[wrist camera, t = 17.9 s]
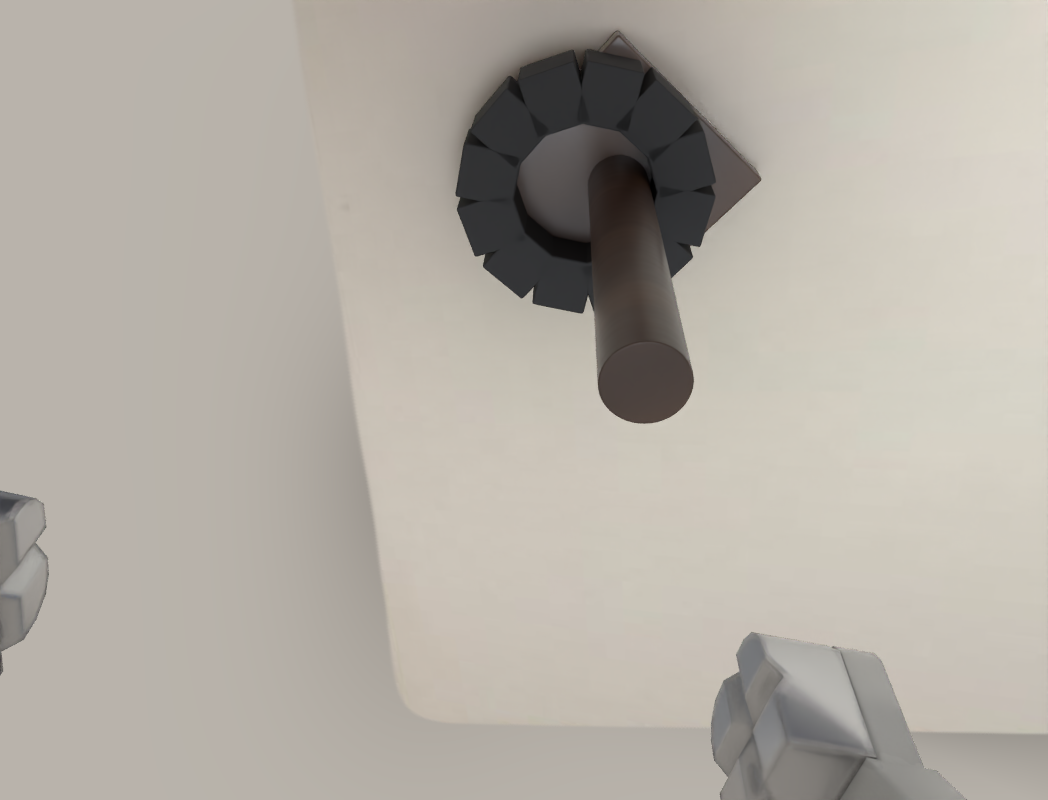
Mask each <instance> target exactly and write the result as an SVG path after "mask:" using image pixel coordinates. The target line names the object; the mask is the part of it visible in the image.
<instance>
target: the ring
mask: <svg viewBox="0 0 1048 800" xmlns="http://www.w3.org/2000/svg"><path fill="white" fill-rule="evenodd" d="M581 124H586V125H590V126H595V127H600V128H604V129H609V130H614V131H618V132H620V133H622V134H623V135H624V136H625V137H626V138H627V139H628V140H629V141H630V142H631V143H632V144H633V145H634V146H635V147H637V148H638V149H639V150H640V151H641V152H642V153H643V154H644V155H645V156H646V157H647V159H648V162H649V166H650V170H651V173H652V180H651V183H650V188H651V193H652V197H653V201H654V206H655V210H656V214H657V219H658V223H659V227H660V232H661V236H662V240H663V245H664V249H665V254H666V258H667V262H668V267H669V271H670V275H671V278H672V277H673V276H674V275H675V274H676V273H677V272H678V271H679V270H680V269H682V268H683V267H684V266H685V265H686V264H687V263H688V262H689V261H690V260H691V259H692V258H693V255H692V252H691V248H690V245H693V246H698V247H700V245H701V242H702V239H703V236H704V233H705V230H706V227H707V223H708V220H709V217H710V214H711V211H712V207H713V204H714V201H715V198H716V195H715V193H714V191H713V188H712V186H711V185H712V184H715V183H716V178H715V174H714V170H713V166H712V162H711V158H710V154H709V149H708V145H707V141H706V137H705V133H704V130H703V128H702V126H701V124H700V121H699V119H698V117H697V116H696V115H695V113H694V111H693V109H692V106H691V104H690V103H689V102H688V101H687V100H686V99H685V98H684V97H683V96H682V95H681V94H680V93H679V92H678V91H677V90H676V89H675V88H674V87H673V86H672V85H670V84H669V83H668V82H667V81H666V80H665V79H664V78H663V77H662V76H661V75H660V74H659V73H658V72H657V71H656V70H655V69H654V68H653V67H651V68H650V69H649V70H648V71H647V72H646V74H645V75H644V71H643V67H642V64H641V61H639V60H635V59H631V58H626V57H622V56H617V55H612V54H608V53H603V52H599V51H594V50H590V49H587V50H586V51H585V56H584V60H583V65H582V69H581V72H580V69H579V66H578V62H577V59H576V55H575V52H574V50H570V51H567V52H564V53H562V54H559V55H556V56H553V57H550V58H547V59H544V60H541V61H538V62H535V63H532V64H530V65H527V66H524V67H521V68H520V73H519V77H518V82H517V81H516V80H515V79H514V78H513V77H511V76H509V77H508V78H507V79H506V80H505V81H504V82H503V84H502V85H501V86H500V87H499V88H498V90H497V91H496V92H495V93H494V94H493V95H492V97H491V98H490V99H489V100H488V101H487V103H486V104H485V105H484V106H483V107H482V108H481V110H480V111H479V112H478V113H477V114H476V116H475V119H474V122H473V124H472V127H471V129H469V131H468V134H467V137H466V140H465V142H464V146H463V152H462V158H461V164H460V170H459V176H458V182H457V188H456V196H457V197H460V201H459V204H458V207H457V211H458V214H459V216H460V219H461V221H462V224H463V227H464V229H465V232H466V234H467V237H468V239H469V242H470V245H471V247H472V250H473V252H474V255H475V256H480V255H483V254H485V258H484V263H483V267H484V268H485V269H486V270H487V271H489V272H490V273H491V274H492V275H493V276H495V277H496V278H497V279H498V280H499V281H501V282H502V283H503V284H504V285H506V286H507V287H508V288H509V289H510V290H512V291H513V292H514V293H515V294H517V295H518V296H519V297H520V298H523V297H524V296H525V295H526V294H527V293H528V292H529V291H530V290H531V289H532V288H533V287H534V291H533V304H536V305H541V306H546V307H551V308H556V309H561V310H566V311H571V312H576V313H583V312H584V308H585V304H586V301H587V297H588V296H589V299H590V302H591V305H592V308H593V311H594V297H593V277H592V257H591V242H590V243H581V242H576V241H571V240H567V239H562V238H557V237H553V236H552V235H551V234H549V233H548V232H547V231H546V230H545V229H544V228H542V227H541V226H540V225H539V224H538V223H537V222H535V221H534V220H533V219H532V218H531V217H530V216H529V215H528V214H527V212H526V209H525V206H524V203H523V200H522V197H521V194H520V192H519V189H518V186H517V180H518V175H519V170H520V165H521V163H522V162H523V161H524V160H525V158H526V157H527V156H528V155H529V154H530V153H531V152H532V151H533V150H534V148H535V147H536V146H537V145H538V144H539V143H540V142H541V141H542V140H543V138H544V137H545V136H547V135H550V134H553V133H557V132H560V131H563V130H566V129H569V128H572V127H575V126H578V125H581Z"/></svg>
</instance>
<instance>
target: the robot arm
mask: <svg viewBox="0 0 1048 800" xmlns="http://www.w3.org/2000/svg"><path fill="white" fill-rule="evenodd" d="M45 528H46V520H45V510H44V504H43V503H42V502H41V501H39V500H38V499H36V498H32V497H27V496H23V495H18V494H14V493H8V492H4V491H0V675H1V673H2V672H3V666H2V653H1V651H3V650H5V649H7V648H9V647H11V646H13V645H15V644H17V643H18V642H20V641H22V640H24V638H25V636H26V635H27V633H28V632H29V630H30V629H31V627H32V625H33V624H34V622H35V621H36V619H37V616H38V613H39V611H40V608H41V605H42V603H43V600H44V597H45V595H46V588H47V582H48V575H49V573H48V558H47V556H46V555H45V554H44V552H43V551H42V550H41V549H40V548H39V547H38V545H37V544H36V543H35V542H36V541H37V539H38V538H39V537H40V535H41V534H42V532H43V531H44V530H45ZM736 656H737V661H738V666H739V671H740V672H738V673H736V674H734V675H733V676H731V677H729V678H727V679H726V680H724V681H723V683H722V686H721V688H720V690H719V693H718V695H717V697H716V700H715V704H714V710H713V715H712V721H711V743H712V749H713V756H714V761H715V762H716V763H717V764H718V765H719V767H720V768H721V769H722V770H723V772H724V773H725V774H726V775H727V776H728V779H727V781H726V783H725V785H724V787H723V788H722V791H721V792H720V798H721V800H967V799H965V798H964V797H963V796H962V795H961V794H960V793H959V792H958V791H957V790H956V789H955V788H954V787H953V786H952V785H951V784H950V783H949V782H948V781H947V780H946V779H945V778H944V777H942V775H941V774H940V773H938V771H936V770H931V769H926V768H924V766H923V763H922V761H921V758H920V756H919V754H918V751H917V748H916V746H915V743H914V741H913V738H912V736H911V733H910V731H909V728H908V726H907V723H906V721H905V718H904V716H903V713H902V711H901V708H900V706H899V703H898V701H897V698H896V696H895V693H894V691H893V688H892V686H891V683H890V681H889V678H888V675H887V673H886V670H885V668H884V665H883V663H882V661H881V659H880V658H879V657H878V656H877V655H876V654H875V653H871V652H865V651H859V650H853V649H848V648H842V647H836V646H833V647H830V646H827V645H821V644H816V643H810V642H804V641H799V640H793V639H788V638H782V637H777V636H771V635H765V634H760V633H754V632H751V633H750V634H749V635H748V636H747V637H746V638H745V639H744V640H743V642H742V644H741V646H740V648H739V650H738V652H737V654H736Z"/></svg>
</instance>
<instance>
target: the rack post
mask: <svg viewBox="0 0 1048 800" xmlns="http://www.w3.org/2000/svg"><path fill="white" fill-rule="evenodd" d="M599 52H603V53H608V54H612V55H617V56H622V57H626V58H631V59H635V60H639V61H641V64H642V67H643V71H644V75H645V74H646V72H647V71H648V70H649V69H650V68H651V67H653V68H654V69H655V70H656V71H657V72H658V73H659V74H660V72H659V71H658V70H657V69H656V68H655V67H654V66H653V65H652V64H651V63H650V62H649V61H648V60H647V59H646V58H645V57H644V56H643V55H642V54H641V53H640V52H639V51H638V50H637V49H636V48H635V47H634V46H633V45H632V44H631V43H630V42H629V41H628V40H627V39H626V38H625V37H624V36H623V35H622V34H621V33H620V32H619V31H616V32H615V33H614V34H613V35H612V36H611V38H610V39H609V40H608V41H607V42H606V43H605V44H604V45H603V46H602V47H601V48H600V50H599ZM580 72H581V70H580ZM660 75H661V74H660ZM661 76H662V75H661ZM662 77H663V76H662ZM663 78H664V77H663ZM664 79H665V78H664ZM665 80H666V79H665ZM666 81H667V80H666ZM667 82H668V81H667ZM668 83H669V82H668ZM669 84H670V83H669ZM670 85H671V84H670ZM691 106H692V105H691ZM692 109H693V111H694V113H695V115H696V116H697V117H698V119H699V121H700V124H701V126H702V128H703V130H704V133H705V137H706V141H707V145H708V149H709V154H710V158H711V162H712V166H713V170H714V174H715V178H716V183H715V184H712V185H711V186H712V188H713V191H714V193H715V195H716V198H715V201H714V204H713V207H712V211H711V214H710V217H709V220H708V223H707V227H706V230H705V232H706V231H707V230H708V229H709V228H710V227H711V226H712V225H714V224H715V223H716V222H717V221H718V220H719V219H720V218H721V217H722V216H723V215H724V214H725V213H726V212H728V211H729V210H730V209H731V208H732V207H733V206H734V205H735V204H736V203H737V202H738V201H739V200H740V199H742V198H743V197H744V196H745V195H746V194H747V193H748V192H749V191H750V190H751V189H752V188H753V187H754V186H756V185H757V184H758V183H759V182H760V181H761V177H760V175H759V174H758V172H757V171H756V170H755V169H754V168H753V167H752V166H751V165H750V164H749V163H748V162H747V161H746V160H745V159H744V158H743V157H742V156H741V154H740V153H739V152H738V151H737V150H736V149H735V148H734V147H733V146H732V145H731V144H730V143H729V142H728V141H727V140H726V139H725V138H724V137H723V136H722V135H721V134H720V133H719V132H718V131H717V130H716V129H715V128H714V127H713V126H712V125H711V124H710V123H709V122H708V121H707V120H706V119H705V118H704V117H703V116H702V115H701V114H700V113H699V112H698V111H697V110H696V109H695V108H694V107H693V106H692ZM651 180H652V173H651V170H650V166H649V162H648V159H647V157H646V156H645V155H644V154H643V153H642V152H641V151H640V150H639V149H638V148H637V147H635V146H634V145H633V144H632V143H631V142H630V141H629V140H628V139H627V138H626V137H625V136H624V135H623V134H622V133H620V132H618V131H614V130H609V129H604V128H600V127H595V126H590V125H586V124H581V125H578V126H575V127H572V128H569V129H566V130H563V131H560V132H557V133H553V134H550V135H547V136H545V137H544V138H543V140H542V141H541V142H540V143H539V144H538V145H537V146H536V147H535V148H534V150H533V151H532V152H531V153H530V154H529V155H528V156H527V157H526V158H525V160H524V161H523V162H522V163H521V165H520V170H519V175H518V180H517V186H518V189H519V192H520V194H521V197H522V200H523V203H524V206H525V209H526V212H527V214H528V215H529V216H530V217H531V218H532V219H533V220H534V221H535V222H537V223H538V224H539V225H540V226H541V227H542V228H544V229H545V230H546V231H547V232H548V233H549V234H551V235H552V236H553V237H557V238H562V239H567V240H571V241H576V242H581V243H590V242H591V257H592V277H593V297H594V317H595V337H596V357H597V377H598V390H599V394H600V397H601V399H602V401H603V403H604V404H605V406H606V407H607V408H608V409H609V410H610V411H611V412H612V413H613V414H615V415H616V416H618V417H620V418H621V419H624V420H626V421H630V422H634V423H644V424H645V423H654V422H658V421H662V420H664V419H667V418H669V417H671V416H672V415H674V414H675V413H677V412H678V411H679V410H680V409H681V408H682V407H683V406H684V405H685V404H686V402H687V401H688V399H689V397H690V395H691V393H692V389H693V383H694V377H693V371H692V367H691V362H690V358H689V354H688V349H687V345H686V341H685V336H684V332H683V328H682V323H681V319H680V314H679V310H678V306H677V301H676V297H675V293H674V288H673V284H672V280H671V275H670V271H669V267H668V262H667V258H666V254H665V249H664V245H663V240H662V236H661V232H660V227H659V223H658V219H657V214H656V210H655V206H654V201H653V197H652V193H651V188H650V183H651ZM690 246H691V245H690Z"/></svg>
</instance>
